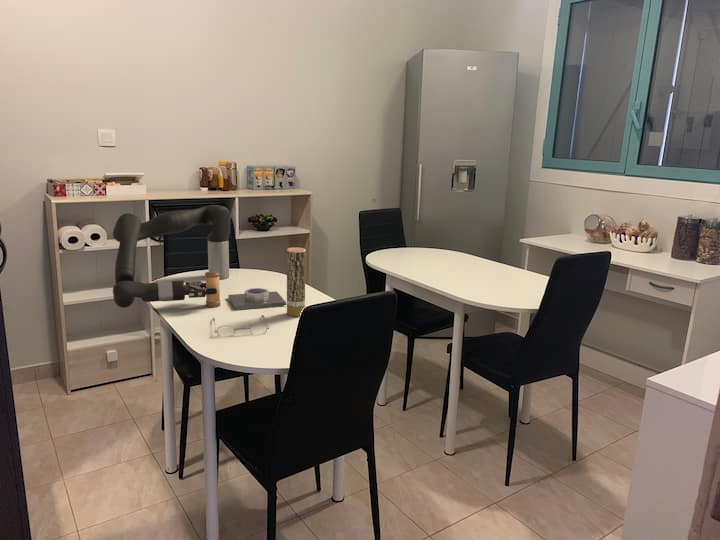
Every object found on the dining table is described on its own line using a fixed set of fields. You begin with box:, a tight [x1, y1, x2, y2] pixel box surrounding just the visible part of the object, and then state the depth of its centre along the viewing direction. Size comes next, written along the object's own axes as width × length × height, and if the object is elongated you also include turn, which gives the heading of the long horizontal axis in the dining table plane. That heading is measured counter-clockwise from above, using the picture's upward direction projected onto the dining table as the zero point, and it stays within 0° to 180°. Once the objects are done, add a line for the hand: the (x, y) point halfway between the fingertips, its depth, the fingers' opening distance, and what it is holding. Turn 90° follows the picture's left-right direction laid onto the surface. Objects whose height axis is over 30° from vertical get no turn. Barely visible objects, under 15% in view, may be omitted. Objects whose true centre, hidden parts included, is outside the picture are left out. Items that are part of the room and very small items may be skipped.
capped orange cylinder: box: [204, 271, 221, 308], centre depth 218 cm, size 5×5×13 cm
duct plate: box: [227, 287, 287, 311], centre depth 225 cm, size 16×20×4 cm
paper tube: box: [286, 246, 307, 317], centre depth 209 cm, size 7×7×25 cm
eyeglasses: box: [213, 314, 270, 336], centre depth 198 cm, size 18×19×4 cm
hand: (215, 288), depth 218 cm, fingers open, 8 cm apart
